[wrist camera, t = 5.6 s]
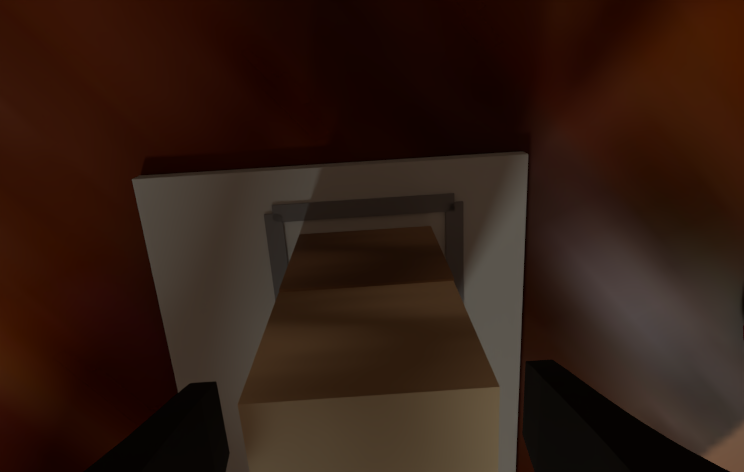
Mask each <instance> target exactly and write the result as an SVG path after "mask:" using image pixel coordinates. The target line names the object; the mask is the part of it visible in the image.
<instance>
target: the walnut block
mask: <svg viewBox="0 0 744 472" xmlns="http://www.w3.org/2000/svg"><path fill="white" fill-rule="evenodd" d="M443 281H454V277H453V275H452V272H451V270H450V268H449V266H448V263H447V261H446V259H445V257H444V254H443V252H442V250H441V248H440V245H439V243H438V241H437V239H436V236H435V234H434V232H433V230H432V227H431V226H422V227H406V228H390V229H375V230H359V231H343V232H328V233H312V234H299V237H298V239H297V242H296V245H295V248H294V250H293V253H292V256H291V258H290V261H289V264H288V266H287V269H286V272H285V275H284V277H283V280H282V283H281V285H280V288H279V293H282V292H296V291H311V290H326V289H340V288H355V287H369V286H384V285H399V284H413V283H428V282H443Z"/></svg>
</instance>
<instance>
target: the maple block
mask: <svg viewBox="0 0 744 472" xmlns="http://www.w3.org/2000/svg"><path fill="white" fill-rule="evenodd" d="M499 404H500V386H499V384H498V381H497V379H496V377H495V375H494V372H493V370H492V368H491V365H490V363H489V361H488V359H487V356H486V354H485V352H484V349H483V347H482V345H481V343H480V340H479V338H478V336H477V333H476V331H475V329H474V327H473V324H472V322H471V320H470V317H469V315H468V313H467V311H466V308H465V306H464V304H463V301H462V299H461V297H460V295H459V292H458V290H457V288H456V285H455V283H454V281H443V282H428V283H413V284H399V285H384V286H369V287H355V288H340V289H326V290H311V291H296V292H282V293H278V296H277V298H276V301H275V304H274V306H273V309H272V312H271V315H270V317H269V320H268V323H267V326H266V328H265V331H264V334H263V337H262V339H261V342H260V345H259V347H258V350H257V353H256V356H255V358H254V361H253V364H252V367H251V369H250V372H249V375H248V377H247V380H246V383H245V386H244V388H243V391H242V394H241V397H240V399H239V402H238V410H239V416H240V421H241V427H242V432H243V438H244V444H245V449H246V455H247V460H248V466H249V471H250V472H498V454H499Z"/></svg>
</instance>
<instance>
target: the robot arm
mask: <svg viewBox="0 0 744 472" xmlns="http://www.w3.org/2000/svg"><path fill="white" fill-rule="evenodd" d="M523 437H524V440H525V443H526V447H527V450H528V453H529V456H530V459H531V462H532V465H533V468H534V471H535V472H730V471H728V470H725V469H723V468H721V467H720V466H718V465H716V464H714V463H712V462H710V461H708V460H706V459H705V458H703V457H701V456H699V455H697V454H695V453H693V452H691V451H690V450H688V449H686V448H684V447H682V446H681V445H679V444H677V443H675V442H674V441H672V440H670V439H669V438H667V437H665V436H664V435H662V434H660V433H659V432H657V431H656V430H654V429H652V428H651V427H649V426H647V425H646V424H644V423H643V422H641V421H640V420H638V419H636V418H635V417H633V416H632V415H630V414H629V413H627V412H626V411H624V410H623V409H621V408H620V407H618V406H617V405H616V404H614V403H613V402H611V401H610V400H608V399H607V398H605V397H604V396H603V395H601V394H600V393H598V392H597V391H596V390H594V389H593V388H591V387H590V386H589V385H587V384H586V383H584V382H583V381H582V380H580V379H579V378H578V377H576V376H575V375H573V374H572V373H571V372H569V371H568V370H566V369H565V368H564V367H562V366H561V365H559V364H558V363H556V362H555V361H553V360H540V361H526V368H525V390H524V413H523ZM229 454H230V452H229V446H228V441H227V435H226V430H225V425H224V419H223V414H222V409H221V403H220V398H219V393H218V387H217V382H216V381H213V382H197V383H190V384H188V385H187V386H186V387H184V388H183V389H182V390H181V391H180V392H178V393H177V394H176V395H175V396H174V397H173V398H171V399H170V400H169V401H168V402H167V403H166V404H165V405H164V406H162V407H161V408H160V409H159V410H158V411H157V412H156V413H154V414H153V415H152V416H151V417H150V418H149V419H147V420H146V421H145V422H144V423H143V424H142V425H141V426H139V427H138V428H137V429H136V430H135V431H134V432H132V433H131V434H130V435H129V436H128V437H127V438H125V439H124V440H123V441H122V442H120V443H119V444H118V445H117V446H115V447H114V448H113V449H112V450H110V451H109V452H108V453H107V454H105V455H104V456H103V457H102V458H100V459H99V460H98V461H97V462H95V463H94V464H93V465H92V466H90V467H89V468H88V469H86V470H85V471H84V472H226V468H227V464H228V459H229Z"/></svg>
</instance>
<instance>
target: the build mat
mask: <svg viewBox="0 0 744 472" xmlns="http://www.w3.org/2000/svg"><path fill="white" fill-rule="evenodd" d="M527 175H528V154H527V153H525V152H523V151H519V152H503V153H488V154H472V155H456V156H441V157H425V158H409V159H393V160H378V161H362V162H346V163H331V164H315V165H299V166H284V167H268V168H252V169H236V170H221V171H205V172H189V173H174V174H158V175H142V176H138V177H136V178H134V179H132V182H133V187H134V191H135V196H136V201H137V205H138V210H139V214H140V219H141V224H142V228H143V233H144V237H145V242H146V247H147V251H148V256H149V260H150V265H151V270H152V274H153V279H154V283H155V288H156V293H157V297H158V302H159V306H160V311H161V316H162V320H163V325H164V329H165V334H166V339H167V343H168V348H169V352H170V357H171V362H172V366H173V371H174V375H175V380H176V385H177V389H178V392H180V391H181V390H182V389H183V388H184V387H186V386H187V385H188V384H190V383H197V382H213V381H216V382H217V387H218V393H219V398H220V403H221V409H222V414H223V419H224V425H225V430H226V435H227V441H228V446H229V452H230V454H229V459H228V464H227V468H226V472H250V471H249V466H248V460H247V455H246V449H245V444H244V438H243V432H242V427H241V421H240V416H239V410H238V402H239V399H240V397H241V394H242V391H243V388H244V386H245V383H246V380H247V377H248V375H249V372H250V369H251V367H252V364H253V361H254V358H255V356H256V353H257V350H258V347H259V345H260V342H261V339H262V337H263V334H264V331H265V328H266V326H267V323H268V320H269V317H270V315H271V312H272V309H273V306H274V304H275V301H276V298H277V296H278V293H279V288H280V285H281V283H282V280H283V277H284V275H285V272H286V269H287V266H288V264H289V261H290V258H291V256H292V253H293V250H294V248H295V245H296V242H297V239H298V237H299V234H312V233H328V232H343V231H359V230H375V229H390V228H406V227H422V226H431V227H432V230H433V232H434V234H435V236H436V239H437V241H438V243H439V245H440V248H441V250H442V252H443V254H444V257H445V259H446V261H447V263H448V266H449V268H450V270H451V272H452V275H453V277H454V283H455V285H456V288H457V290H458V292H459V295H460V297H461V299H462V301H463V304H464V306H465V308H466V311H467V313H468V315H469V317H470V320H471V322H472V324H473V327H474V329H475V331H476V333H477V336H478V338H479V340H480V343H481V345H482V347H483V349H484V352H485V354H486V356H487V359H488V361H489V363H490V365H491V368H492V370H493V372H494V375H495V377H496V379H497V381H498V384H499V386H500V404H499V454H498V472H516V449H517V424H518V400H519V375H520V350H521V325H522V300H523V275H524V250H525V225H526V200H527Z"/></svg>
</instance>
